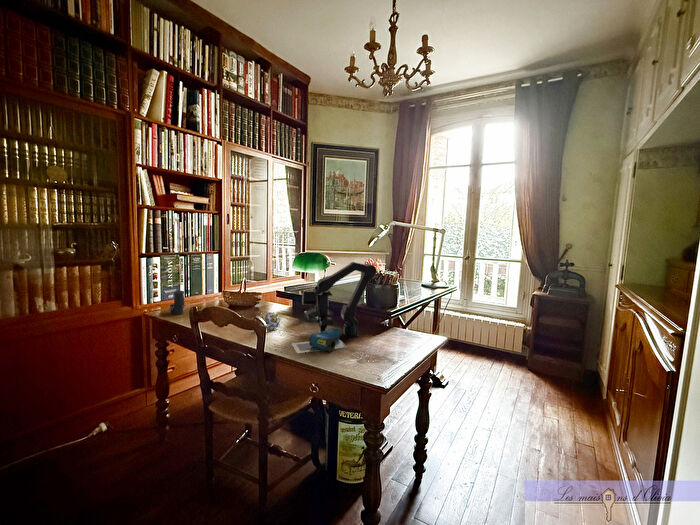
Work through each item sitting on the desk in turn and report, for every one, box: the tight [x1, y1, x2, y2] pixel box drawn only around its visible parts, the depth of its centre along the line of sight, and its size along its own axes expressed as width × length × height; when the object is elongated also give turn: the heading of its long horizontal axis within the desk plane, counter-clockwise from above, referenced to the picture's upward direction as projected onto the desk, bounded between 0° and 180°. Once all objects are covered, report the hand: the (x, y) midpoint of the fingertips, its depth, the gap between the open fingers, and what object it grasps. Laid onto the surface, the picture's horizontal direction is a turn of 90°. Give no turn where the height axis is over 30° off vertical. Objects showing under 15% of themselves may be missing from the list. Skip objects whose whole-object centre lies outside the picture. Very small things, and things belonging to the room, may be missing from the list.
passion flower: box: [260, 310, 282, 332], centre depth 172 cm, size 11×11×12 cm
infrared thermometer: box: [308, 328, 341, 353], centre depth 152 cm, size 6×13×20 cm
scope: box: [167, 290, 186, 316], centre depth 192 cm, size 8×14×10 cm
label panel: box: [291, 337, 348, 354], centre depth 150 cm, size 24×12×1 cm, turn 113°
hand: (321, 333), depth 163 cm, fingers closed
